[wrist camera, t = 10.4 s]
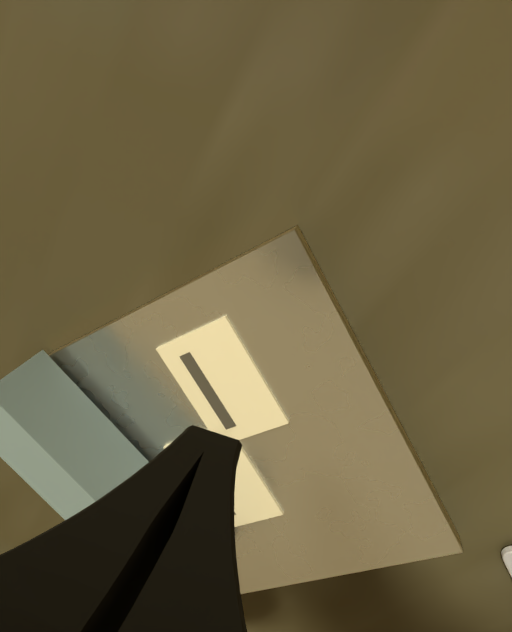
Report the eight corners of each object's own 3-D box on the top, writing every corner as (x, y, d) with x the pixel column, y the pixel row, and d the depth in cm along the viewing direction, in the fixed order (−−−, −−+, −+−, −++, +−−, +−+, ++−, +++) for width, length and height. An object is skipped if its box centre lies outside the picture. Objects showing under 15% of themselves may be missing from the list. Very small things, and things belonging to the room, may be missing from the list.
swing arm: (262, 566, 25) (242, 650, 21) (210, 586, 27) (182, 668, 23) (52, 341, 22) (-18, 390, 18) (8, 379, 24) (-65, 432, 20)
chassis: (459, 535, 23) (481, 634, 19) (220, 584, 29) (194, 668, 25) (297, 224, 19) (276, 256, 15) (52, 351, 25) (-18, 402, 20)
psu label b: (283, 511, 24) (282, 515, 24) (221, 527, 26) (220, 531, 25) (226, 423, 23) (225, 426, 22) (164, 445, 24) (162, 448, 24)
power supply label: (289, 420, 22) (288, 423, 22) (220, 444, 23) (219, 447, 23) (226, 315, 20) (225, 317, 20) (157, 347, 22) (155, 349, 22)
